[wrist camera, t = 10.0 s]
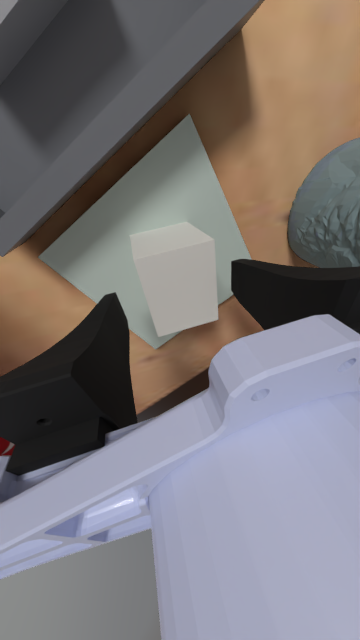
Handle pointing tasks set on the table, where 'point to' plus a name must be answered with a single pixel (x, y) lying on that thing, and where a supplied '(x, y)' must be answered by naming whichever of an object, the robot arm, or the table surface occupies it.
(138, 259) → the block
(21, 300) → the table surface
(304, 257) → the embossed green cup
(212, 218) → the sage mat
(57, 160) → the gray square tray
